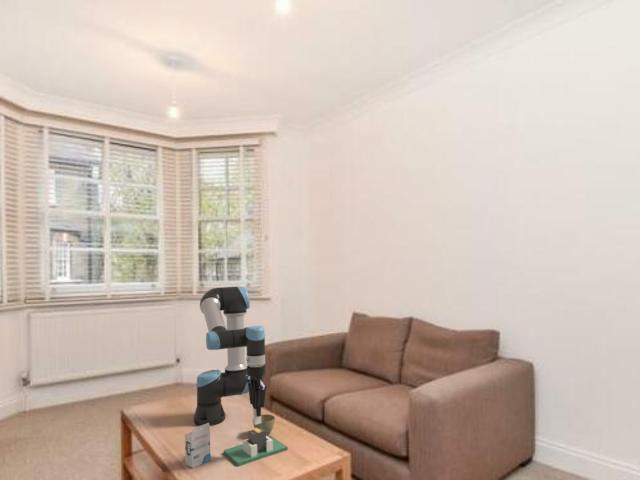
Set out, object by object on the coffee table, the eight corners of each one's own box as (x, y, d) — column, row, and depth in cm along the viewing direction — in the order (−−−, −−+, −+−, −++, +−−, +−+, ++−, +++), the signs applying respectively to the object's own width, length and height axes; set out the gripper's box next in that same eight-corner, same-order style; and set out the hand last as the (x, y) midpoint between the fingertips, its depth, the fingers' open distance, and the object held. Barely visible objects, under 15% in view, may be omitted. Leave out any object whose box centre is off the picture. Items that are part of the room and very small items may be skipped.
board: (223, 453, 175) (223, 440, 175) (270, 438, 188) (270, 426, 188) (238, 466, 164) (238, 452, 164) (287, 449, 177) (287, 436, 177)
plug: (248, 450, 174) (248, 430, 174) (261, 446, 178) (261, 426, 178) (253, 453, 171) (252, 433, 171) (266, 449, 174) (266, 429, 175)
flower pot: (271, 439, 187) (271, 422, 187) (249, 438, 189) (249, 421, 189) (278, 430, 197) (277, 414, 197) (257, 429, 199) (257, 413, 199)
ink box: (203, 456, 173) (202, 419, 173) (211, 460, 170) (210, 422, 170) (184, 464, 166) (184, 426, 167) (192, 468, 163) (191, 429, 164)
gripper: (240, 363, 179) (241, 421, 178) (255, 369, 168) (256, 430, 167) (256, 360, 183) (258, 416, 182) (272, 366, 172) (273, 426, 172)
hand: (257, 423), depth 175 cm, fingers closed
